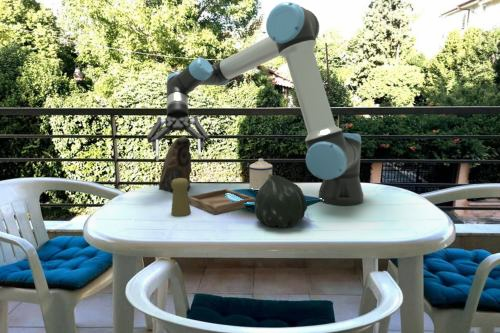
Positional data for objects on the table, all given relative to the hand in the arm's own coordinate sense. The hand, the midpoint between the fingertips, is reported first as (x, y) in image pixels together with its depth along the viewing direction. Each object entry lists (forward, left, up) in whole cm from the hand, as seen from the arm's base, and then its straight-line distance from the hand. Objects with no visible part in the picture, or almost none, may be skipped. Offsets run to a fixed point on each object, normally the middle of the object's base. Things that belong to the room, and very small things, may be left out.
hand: (178, 157), depth 126 cm
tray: (-9, -10, -16) cm, 21 cm away
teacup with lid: (-1, -35, -16) cm, 38 cm away
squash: (-35, -12, -16) cm, 41 cm away
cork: (-9, +5, -16) cm, 19 cm away
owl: (+19, -9, -16) cm, 26 cm away
